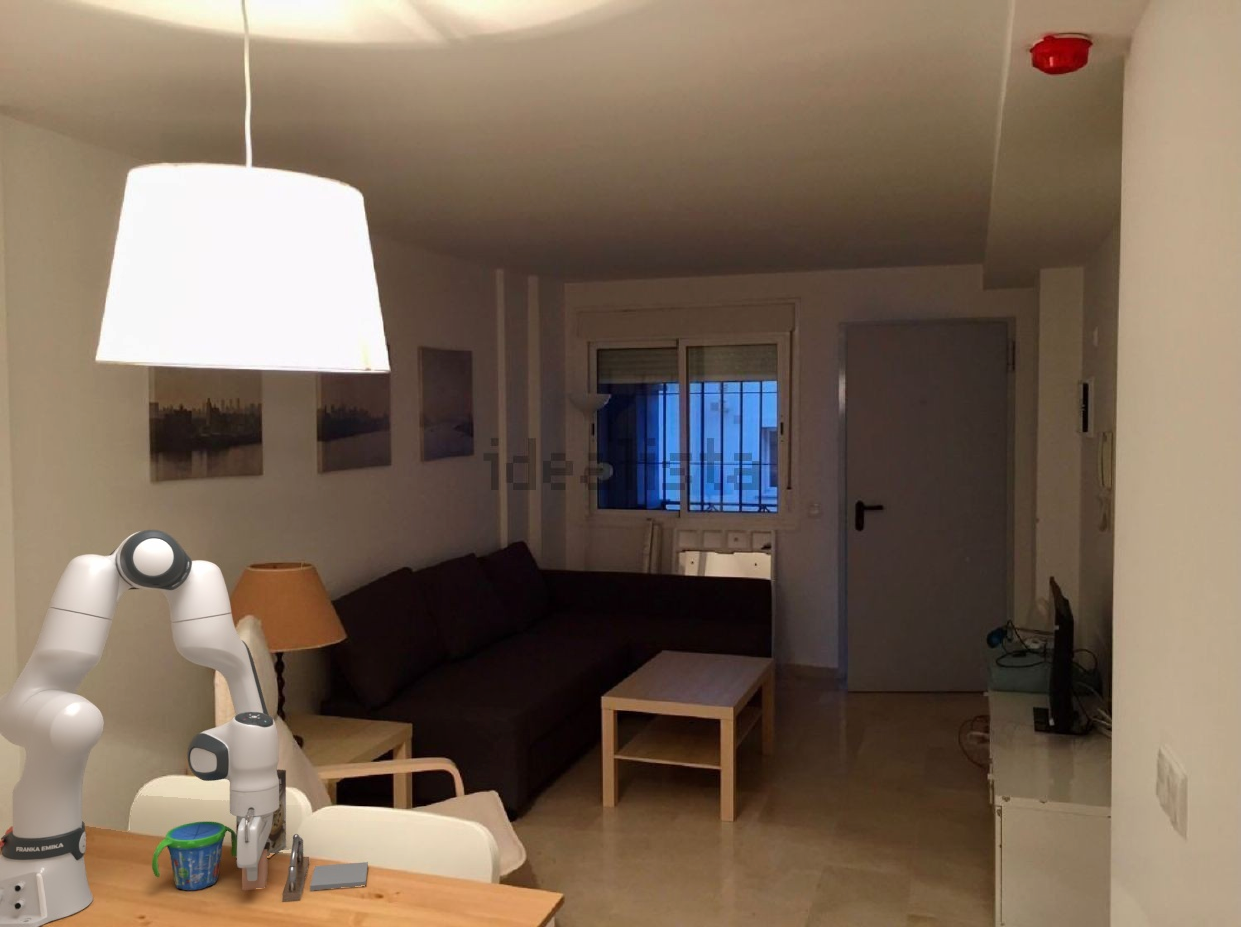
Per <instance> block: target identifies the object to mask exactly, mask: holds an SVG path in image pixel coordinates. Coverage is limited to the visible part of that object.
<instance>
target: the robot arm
mask: <svg viewBox="0 0 1241 927" xmlns="http://www.w3.org/2000/svg"><path fill="white" fill-rule="evenodd" d="M129 590H158V591H160V592H161V593H162V594H163V595H164V596H165V598H166V601H167V603H168V608H169V618H170V627H171V635H172V640H173V644H174V646H175V649H176V651H177V653H178V654H180V655H181V656H182V657H183V658H184V659H186V660H187V661H189V662H190V663H192V664H196V665H199V666H203V667H206V668H209V669H212V670H215V671H217V672H218V673H219V674H221V676H223V677H224V679H225V681H226V683H227V686H228V687H227V688H228V691H229V694H230V698H231V702H232V705H233V709H234V712H235V716H234V717H233V718H232V719H231V720H229V721H227V722H226V723H224V724H222V725H221V724H220V725H219V726H215V727H213V728H209V729H206V730H204V731H201V732H199V733H197V734H195V735H194V736H193V737H192V738H191V741H190V742H189V745H188V748H187V754H186V755H187V756H186V757H187V763H188V764H187V765H188V767H189V769H190V771H191V772H192V773H193V775H194V776H195V777H196V778H198V779H200V780H201V781H205V782H211V781H219V780H220V781H221V780H227V781H228V782H229V812H230V815H232V816H235V817H236V816H237V821H238V822H240V824H239V826H238V833H237V860H236V866H237V868H239V869H242V868H246V870H247V880H248V881H256V880H257V878H258V862H259V860H260V857H261V855H262V852H263V850H264V847H265V844H266V842H267V839H268V837H269V834H270V832H271V828H272V821H273V812H274V811H276V810H277V809H278V808H279V779H278V776H277V770H278V765H279V761H280V746H279V745H280V743H279V741H280V740H279V732H278V729H277V725H276V722H275V719H274V718H273V717H272V716H271V715H269V712H268V709H267V705H266V702H265V698H264V694H263V692H262V687H261V684H260V679H259V676H258V672H257V669H256V666H255V662H254V661H255V660H254V658H253V655H252V653H251V650H250V648H249V646H248V645H247V643H246V641H244V640H243V639H241V637H240V635H239V634H238V631H237V629H236V627H235V622H234V619H233V613H232V608H231V607H232V606H231V600H230V596H229V593H228V588H227V585H226V582H225V577H224V575H223V573H222V570H221V568H220V567H219V566H218V565H217V564H215V563H214V562H211V561H208V560H203V559H202V560H201V559H200V560H199V559H197V560H192V558H191V557H190V556H189V555H188V553H187V552H186V551H185V549H183V547H182V546H181V545H180V543H179V541H177V540H176V538H174V537H173V536H172V535H170V534H169V533H167V532H165V531H162V530H158V529H145V530H141V531H137V532H133V533H132V534H130V535H129V536H128V537H126V538H125V539H124V540H123V541H122V542H121V543H120V544H119V545H118V546H117V547H116V548H115V549H113V551H111V553H110V554H109V555H100V554H92V553H89V554H87V553H86V554H82V555H78V556H75V557H74V558H72V559H71V560H70V561H69V562H68V563H67V566H66V567H65V569H64V571H63V572H62V574H61V577H60V578H59V580H58V582H57V584H56V586H55V589H54V591H53V594H52V596H51V599H50V602H49V604H48V609H47V611H46V614H45V617H44V620H43V623H42V626H41V629H40V631H39V635H38V638H37V641H36V643H35V646H34V648H33V650H32V653H31V654H30V657H29V658H28V661H27V662H26V664H25V666H24V667H23V668H22V671H21V672H20V674H19V676H18V677H17V679H16V681H15V683H13V685H12V687H11V688H10V689H9V690H8V691H6V692H4V694H3V695H2V696H0V734H1V736H2V737H3V738H4V739H5V740H6V741H7V742H9V743H11V744H12V745H16V746H19V747H22V748H24V749H25V760H24V761H25V762H24V765H23V769H22V772H21V776H20V778H19V780H18V781H17V782H16V784H15V785H14V786H13V789H12V826H10V827H9V828H8V829H7V830H6V831H5V834H4V835H3V836H2V837H1V838H0V852H1V854H0V927H40V926H43V925H45V924H47V923H50V922H52V921H55V920H59V919H63V918H66V917H68V916H71V915H74V914H76V913H78V912H80V911H82V910H83V909H85V908H87V907H88V906H89V905H90V904H91V903H92V902H93V901H94V900H93V899H94V897H93V894H92V891H91V888H90V885H89V882H88V877H87V872H86V871H87V870H86V864H85V853H86V847H87V844H86V843H87V834H86V824H85V821H83V787H84V786H83V784H84V777H85V772H86V767H87V764H88V761H89V756H90V753H91V752H92V749H94V747H95V746H96V745H97V744H98V743H99V741H100V739H101V737H102V735H103V733H104V732H103V731H104V725H105V722H104V716H103V714H102V712H101V711H100V709H99V708H98V707H97V706H96V705H95V704H94V703H93V702H92V701H90V700H88V699H87V698H85V697H84V696H82V695H81V694H80V695H79V694H76V693H77V691H78V689H79V688H80V685H81V684H82V683H83V681H84V680H85V678H86V676H87V675H88V674H89V672H91V671H92V669H94V668H95V667H96V666H98V664H99V663H100V661H101V659H102V656H103V653H104V651H105V646H106V644H107V640H108V638H109V634H110V631H111V628H112V624H113V621H114V617H115V614H116V611H117V609H118V608H117V607H118V604H119V602H120V600H121V598H122V596H124V593H126V592H127V591H129Z"/></svg>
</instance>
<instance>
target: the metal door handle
mask: <svg viewBox="0 0 1241 927" xmlns="http://www.w3.org/2000/svg"><path fill="white" fill-rule="evenodd" d="M308 864H309V865H310V856H304V839H303V838H302V837H301V836H300V834H298V833H296V834H294V835H293V836H292V846H291V853H290V858H289V866H288V875H287V877H286V881H285V883H284V887H283V891H282V896H281V897H282V903H284V902H297V901H301V897H302V893H303V890H304V886H303V885H305V882H304V881H306V878H305V877H307V874H308V870H307V868H308V869H309V867H308ZM306 873H307V874H306ZM302 889H303V890H302Z"/></svg>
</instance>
